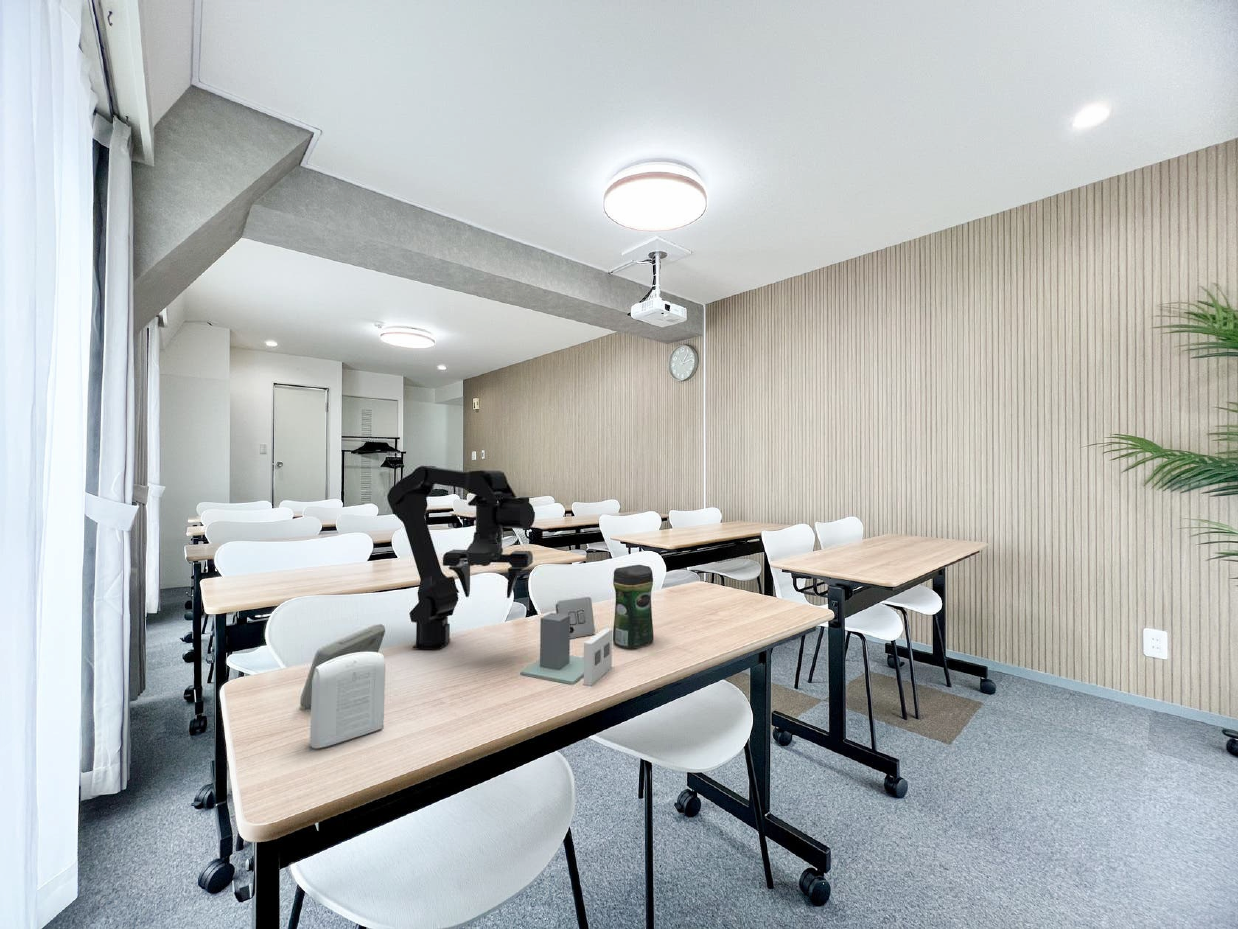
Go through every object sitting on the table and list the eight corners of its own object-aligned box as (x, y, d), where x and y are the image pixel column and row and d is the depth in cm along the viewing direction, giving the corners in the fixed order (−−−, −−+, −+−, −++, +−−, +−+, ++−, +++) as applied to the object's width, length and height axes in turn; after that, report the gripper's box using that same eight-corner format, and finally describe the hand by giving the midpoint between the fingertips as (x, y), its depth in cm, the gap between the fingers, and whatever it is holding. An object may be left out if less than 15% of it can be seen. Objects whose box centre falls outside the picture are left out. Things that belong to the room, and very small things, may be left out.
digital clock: (367, 672, 101) (368, 619, 101) (400, 680, 97) (401, 625, 98) (286, 706, 86) (287, 644, 86) (321, 717, 83) (322, 652, 83)
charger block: (539, 666, 103) (540, 618, 103) (550, 659, 107) (551, 612, 108) (559, 670, 102) (559, 621, 102) (569, 662, 106) (570, 615, 106)
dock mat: (520, 674, 101) (520, 671, 101) (550, 655, 112) (550, 652, 112) (573, 685, 96) (573, 681, 96) (599, 663, 107) (599, 660, 107)
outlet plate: (582, 684, 96) (583, 642, 97) (604, 666, 106) (604, 628, 106) (591, 686, 96) (592, 644, 96) (612, 667, 105) (612, 629, 105)
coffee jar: (636, 635, 126) (637, 561, 126) (658, 643, 120) (659, 566, 120) (606, 643, 120) (607, 565, 120) (628, 652, 114) (629, 570, 114)
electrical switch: (561, 641, 121) (560, 602, 122) (553, 637, 125) (552, 599, 126) (595, 635, 126) (594, 597, 127) (586, 631, 130) (585, 595, 131)
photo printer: (378, 719, 82) (380, 643, 82) (388, 729, 79) (389, 650, 79) (306, 742, 75) (308, 659, 75) (313, 754, 72) (315, 667, 72)
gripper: (432, 530, 103) (431, 606, 103) (522, 531, 102) (521, 608, 102) (452, 524, 114) (451, 593, 114) (533, 525, 114) (532, 594, 113)
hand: (488, 597), depth 111 cm, fingers open, 9 cm apart
